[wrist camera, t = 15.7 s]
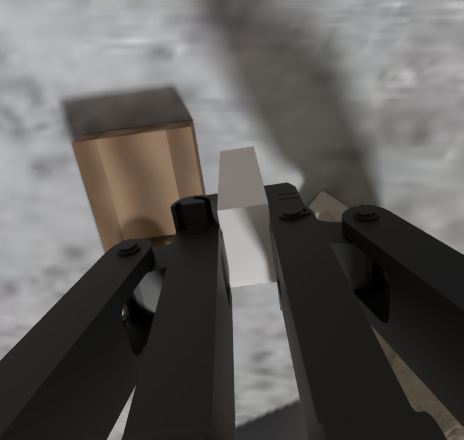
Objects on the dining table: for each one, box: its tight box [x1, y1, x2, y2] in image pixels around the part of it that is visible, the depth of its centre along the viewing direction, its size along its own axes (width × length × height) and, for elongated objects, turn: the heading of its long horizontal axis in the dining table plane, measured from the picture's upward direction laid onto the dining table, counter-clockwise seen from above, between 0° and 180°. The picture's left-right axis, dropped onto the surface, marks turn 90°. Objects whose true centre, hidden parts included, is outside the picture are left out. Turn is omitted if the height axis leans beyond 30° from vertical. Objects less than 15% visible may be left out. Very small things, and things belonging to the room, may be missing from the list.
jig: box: [72, 120, 205, 313], centre depth 44 cm, size 12×22×4 cm, turn 7°
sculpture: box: [308, 191, 464, 440], centre depth 34 cm, size 15×8×30 cm, turn 57°
